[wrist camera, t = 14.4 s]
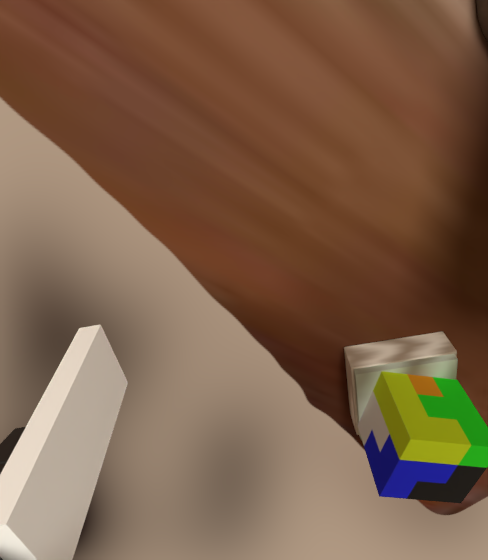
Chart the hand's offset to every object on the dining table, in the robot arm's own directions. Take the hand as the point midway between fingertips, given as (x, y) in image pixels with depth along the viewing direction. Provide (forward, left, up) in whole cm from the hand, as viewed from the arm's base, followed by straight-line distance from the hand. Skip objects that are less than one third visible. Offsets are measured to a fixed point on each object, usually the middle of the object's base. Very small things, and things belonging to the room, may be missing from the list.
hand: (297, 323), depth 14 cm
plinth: (-13, +36, -32) cm, 50 cm away
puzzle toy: (-13, +36, -27) cm, 47 cm away
